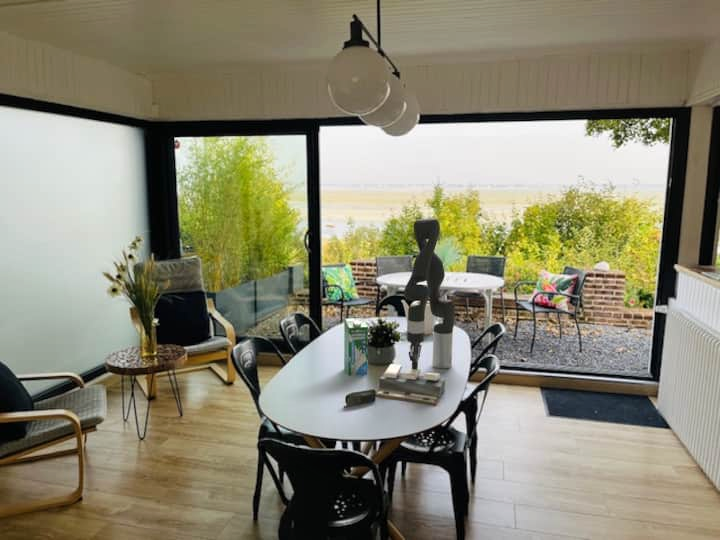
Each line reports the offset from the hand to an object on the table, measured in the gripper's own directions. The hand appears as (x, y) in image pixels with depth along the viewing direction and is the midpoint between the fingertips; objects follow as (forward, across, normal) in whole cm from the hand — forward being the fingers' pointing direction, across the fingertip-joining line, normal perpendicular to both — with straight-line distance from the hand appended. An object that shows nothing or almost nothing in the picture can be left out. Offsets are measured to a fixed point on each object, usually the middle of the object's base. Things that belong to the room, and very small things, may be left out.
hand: (414, 368), depth 221 cm
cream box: (+2, +5, +9) cm, 10 cm away
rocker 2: (+2, +4, 0) cm, 5 cm away
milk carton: (+9, -8, -31) cm, 33 cm away
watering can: (+9, -88, -20) cm, 90 cm away
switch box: (+8, +7, 0) cm, 11 cm away
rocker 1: (+2, +4, -8) cm, 10 cm away
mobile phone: (+9, +25, -16) cm, 31 cm away
